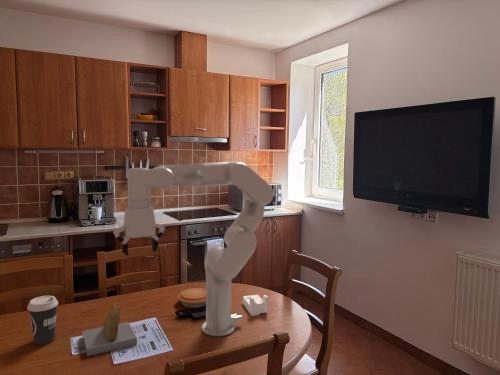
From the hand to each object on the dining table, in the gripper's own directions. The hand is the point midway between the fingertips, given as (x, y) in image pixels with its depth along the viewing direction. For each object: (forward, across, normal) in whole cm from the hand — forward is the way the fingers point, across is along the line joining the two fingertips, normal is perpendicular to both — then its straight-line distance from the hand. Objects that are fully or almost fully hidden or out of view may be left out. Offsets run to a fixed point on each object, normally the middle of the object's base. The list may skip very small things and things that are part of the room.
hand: (140, 252), depth 130 cm
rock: (+30, +10, -6) cm, 32 cm away
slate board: (+32, +10, -6) cm, 34 cm away
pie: (+33, -29, -23) cm, 49 cm away
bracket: (+33, -50, -5) cm, 60 cm away
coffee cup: (+32, +30, -17) cm, 47 cm away
